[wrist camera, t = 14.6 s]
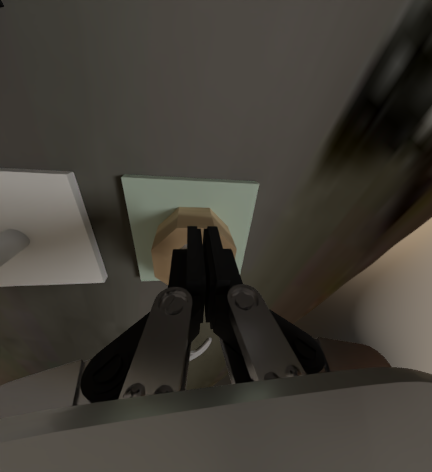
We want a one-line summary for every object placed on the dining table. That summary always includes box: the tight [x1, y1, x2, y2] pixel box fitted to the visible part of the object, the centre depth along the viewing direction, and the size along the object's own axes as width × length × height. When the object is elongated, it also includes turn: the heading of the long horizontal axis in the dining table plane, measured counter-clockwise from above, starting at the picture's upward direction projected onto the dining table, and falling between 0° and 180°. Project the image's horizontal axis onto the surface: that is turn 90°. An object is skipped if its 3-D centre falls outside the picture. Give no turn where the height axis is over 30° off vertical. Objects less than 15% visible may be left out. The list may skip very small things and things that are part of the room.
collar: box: [151, 207, 237, 285], centre depth 17 cm, size 7×7×4 cm
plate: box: [121, 174, 259, 281], centre depth 17 cm, size 12×12×5 cm
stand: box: [0, 168, 108, 287], centre depth 15 cm, size 12×12×4 cm
